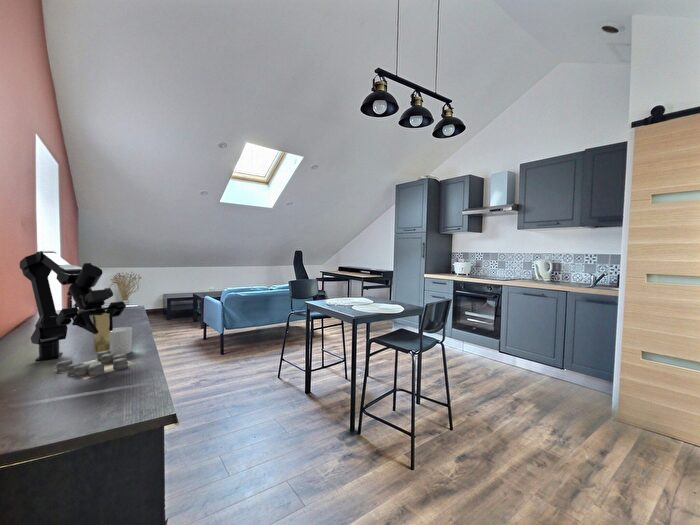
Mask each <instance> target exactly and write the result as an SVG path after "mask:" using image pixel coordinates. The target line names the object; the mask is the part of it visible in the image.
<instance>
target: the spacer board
mask: <svg viewBox="0 0 700 525" xmlns="http://www.w3.org/2000/svg"><path fill="white" fill-rule="evenodd" d="M96 355H97V358H96V359H93V360H88V361H84V362H78V363H77V362H76V363H73V360H70V359H67V360H62V361H58V362H56V363H55V364H56V369H53V370H52V371H53V372H57V373H60V374H63V375H67V376H71V377H75V378H78V379H81V380H88V379H91V378H95V377H99V376H102V375H104V374H107V373H110V372H113V371H117V370H123V369H126V368H128V367H130V366H133V365H137V364H138V363H137V362H133V361H129V360H128V356H127V355H128V353H127V354H119V355H115V354H113V353H111V351H109V350H107V351H102V352H96Z"/></svg>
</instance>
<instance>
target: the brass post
mask: <svg viewBox="0 0 700 525" xmlns="http://www.w3.org/2000/svg"><path fill="white" fill-rule="evenodd" d="M92 323H93V325H94V326H95V328H96V330H97V334H93V333H92V334H93V336H92V337H93V338H92V340H93V352H95V353H98V352H102V351H109V349H110V314H109V313H100V314H94V315H92Z"/></svg>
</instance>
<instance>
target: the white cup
mask: <svg viewBox="0 0 700 525" xmlns="http://www.w3.org/2000/svg"><path fill="white" fill-rule="evenodd" d="M132 340H133V327H132V326H131V327H130V326H120V327H115V328H114V327H113V330H112V331H110V349H109V350H108V351H111V353H113V354H115V355H119V354H127V355H128V354H129V353H131V352H132V344H133V343H132Z"/></svg>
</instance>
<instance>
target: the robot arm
mask: <svg viewBox="0 0 700 525" xmlns="http://www.w3.org/2000/svg"><path fill="white" fill-rule="evenodd" d="M19 269H20V270H21V272H22V275H23V277H25V278H26V279H27V280H29V281H30V282H31V287H32V291H33V296H34V299H35V303H36V308H37V312H38V320H37V321H36V323H35V325H34V326H35V329H34V331H33V333H32V335H31V336H30V341H31V344H32V345H33V344H34V345H38V356H37V357H36V358H35V361H36V362H37V361H43V360H44V361H45V360H53V359H59V358H60V357H61V356H62V355H63V352H60V341H61V340H66V339H67V333H68V328H69V327H68V325H70V324H72V326H77V327H78V328H82V329H84V330H86V332H90V333H91V334H97V330H96V328H95V326H94V325H93V320H92V319H91V316H92V317H93V315H94V314H100V313H109V314H110V331H112V330H113V328H114V325H113V324H114V322H113V318H114V317H120V316H121V315H122V313H123V312H124V310H125V308H126V307H127V305H126V302H124V301H121V300H119V301H112V302H110V303H109V305H108V306H107V307H106V306H104V305H105V304H106V302H105V301H106V300H109V299H110V298H112V297H114V292H113V290H112V288H110V287H106V288H105V287H104V289H95V290H93V289H92V288H94V287H95V286H96V285H97V284H98V282H99V280H100V278H101V277H102V275H103V273H104V272H103V270H102V268H99V267H98V266H96V265H93V264H92V263H91V262H84V263H83V264H82V267H81V266H78V265H74V264H71V263H69V262H67V261H66V260H65V259H63V258H62V257H61V256H59V255H58V254H57V252H56V251H54V250H38V251H36V252H35V253H33V254H30V255H26V256H24V257H23V258H22V259H21V260H19ZM52 271H53V272H54V273H55V274H56V280H57V281H58V282H59V284H61V285H62V286H68V285H70V286H69V287H68V291H67V294H66V295H67V297H70V296H71V297H72V299H73V301H74V305H73V306H72V307H67V308H65V307H64V308H62V309H61V310H60V311H59V313H57V310H56V306H55V302H54V298H53V293H52V290H51V285H50V281H49V277H50V274H51V273H52ZM72 321H73V322H72Z"/></svg>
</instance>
